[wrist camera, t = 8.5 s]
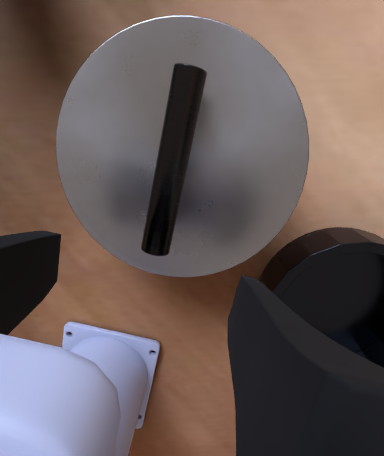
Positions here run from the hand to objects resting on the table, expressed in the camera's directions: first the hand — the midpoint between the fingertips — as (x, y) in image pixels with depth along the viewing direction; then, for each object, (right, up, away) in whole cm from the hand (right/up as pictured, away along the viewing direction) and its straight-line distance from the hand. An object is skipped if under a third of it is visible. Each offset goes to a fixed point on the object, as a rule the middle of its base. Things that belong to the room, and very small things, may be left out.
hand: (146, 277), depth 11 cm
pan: (+12, -3, +11) cm, 17 cm away
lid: (+1, +5, +3) cm, 6 cm away
